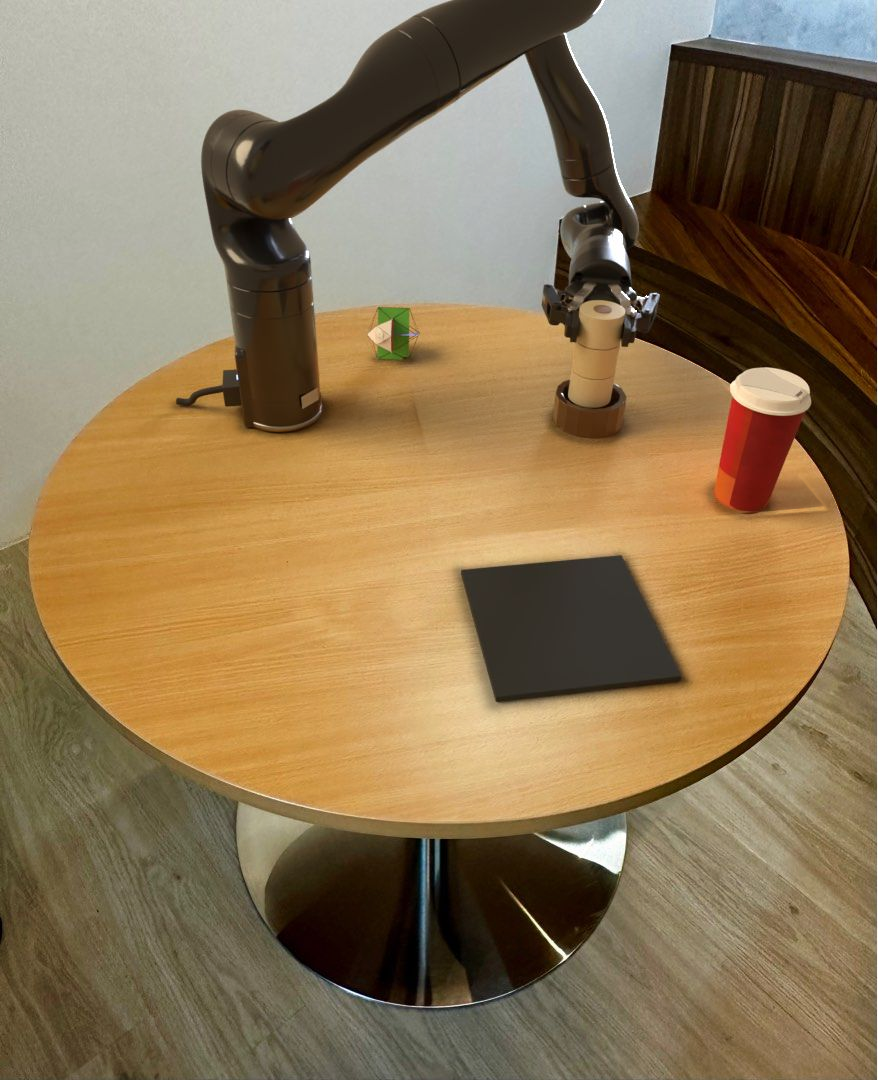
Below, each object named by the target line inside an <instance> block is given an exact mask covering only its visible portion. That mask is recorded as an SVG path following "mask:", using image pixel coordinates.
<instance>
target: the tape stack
mask: <svg viewBox="0 0 878 1080" xmlns="http://www.w3.org/2000/svg"><path fill="white" fill-rule="evenodd" d="M624 318H625V309H624V308H623V307H622V306H620V305H618V304H616V303H613V302H610V301H603V300H593V301H588V302H585V303H583V304H582V305H581V306H580V310H579V326H578V334H577V341H576V343H574V348H573V354H572V363H571V370H570V376H569V377H570V378H569V379H570V384H569V391H568V397H569V399H570V400H571V401H572V402H573V403H575V404H577V405H579V406H582V407H587V408H598V407H603V406H605V405H607V404H608V403H609V402H610V400H611V394H612V388H613V383H614V384H615V376H616V371H617V366H618V359H619V352H620V347H621V335H622V330H623V324H624Z"/></svg>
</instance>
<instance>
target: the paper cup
mask: <svg viewBox="0 0 878 1080" xmlns="http://www.w3.org/2000/svg"><path fill="white" fill-rule="evenodd" d="M729 390H730V395H731V400H730V405H729V411H728V416H727V421H726V427H725V430H724V431H725V432H724V437H723V442H722V446H721V452H720V457H719V463H718V467H717V473H716V478H715V484H714V496H715V498H716V499H717V500H718V501H719V502H720V503H721V504H723V505H725V506H726V507H728V508H731V509H732V510H733V509H734V510H735V511H736V510H737V511H742V512H739V514H741V515H755V514H758V513H760V512H761V510H763V509H764V508H765V507H766V506H767V505H768V503H769V501H770V500H771V497H772V494H773V492H774V490H775V487H776V485H777V481H778V479H779V477H780V475H781V471H782V470H783V467H784V464H785V462H786V460H787V458H788V455H789V452H790V450H791V447H792V445H793V443H794V441H795V438H796V435H797V432H798V431H799V428H800V425H801V422H802V421H803V417H804V414H805V413H806V412H807V411H808V410H809V409H810V407H811V405H812V398H811V395H810V394H811V389H810V386H809V385H808V383H807V382H806V380H804V379H803V378H802V377H801V376H799V375H797V374H795V373H792V372H790V371H788V370H784V369H781V368H775V367H767V366H766V367H753V368H748V369H746V370H745V371H743V372H742V373H740V374H739V375H737V376H736V378H735V380H733V381H732V382H731V383H730V385H729Z"/></svg>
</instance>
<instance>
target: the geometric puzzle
mask: <svg viewBox="0 0 878 1080" xmlns="http://www.w3.org/2000/svg"><path fill="white" fill-rule="evenodd" d="M376 315H377V325H375V326H374V327H373V325H374V321H375V318H376ZM410 315H411V316H413V313H412V311H411V307H394V306H393V307H389V306H377V308H376V311H375V314H374V315H373V319H372V320H371V325H370V326H369V327H368V328H369V330H368V331H367V332H366V333H365V335H366V336H367V338H368V341H369V343H370V344H372V346H373V348H372V350H373V351H374V353H375V356H376V360H397V361H398V360H401V361H403V360H404V359H405V360H406V359H407V358H411V354H412V353H413V351H414V348H415V346H416V343H417V341H418V338H419V336H420V333H421V332H420V331H419V328H418V327H417V326H416V325H417V324H416V322H415V318H414V317H411V318H412V321H413V325H414V327H413V326H410ZM410 328H411V329H413V331H412V330H410ZM414 331H415V332H414ZM370 340H372V341H370ZM413 340H415V341H414V345H413V347H412V349H411V352H410V342H411V341H413ZM371 342H372V343H371ZM375 346H377V351H376V348H375Z"/></svg>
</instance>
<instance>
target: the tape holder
mask: <svg viewBox="0 0 878 1080" xmlns="http://www.w3.org/2000/svg"><path fill="white" fill-rule="evenodd" d="M569 384H570V378H569V379H567V380H563V381H562V382H561V383H559V384H558V385H557V387H556V391H555V396H554V404H553V412H552V420H553V423H554V424H555V426H556V427H557V428H558V429H559V430H561V431H562V432H564V433H566V434H568V435H571V436H574V437H578V438H583V439H603V438H607V437H610V436H613V435H615V434H616V433H618V432H619V431H620V430H621V429H622V426H623V420H624V415H625V408H626V402H627V397H628V396H627V393H626V392H625V391H624V389H623V388H622V387H621V386H619V385H618V384H616V383H615V382H614V383H613V388H612V394H611V400H610V402H609V403H608V404H607V405H605V406H603V407H598V408H587V407H582V406H579V405H577V404H575V403H573V402H572V401H571V400H570V399H569V397H568V391H569Z"/></svg>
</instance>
